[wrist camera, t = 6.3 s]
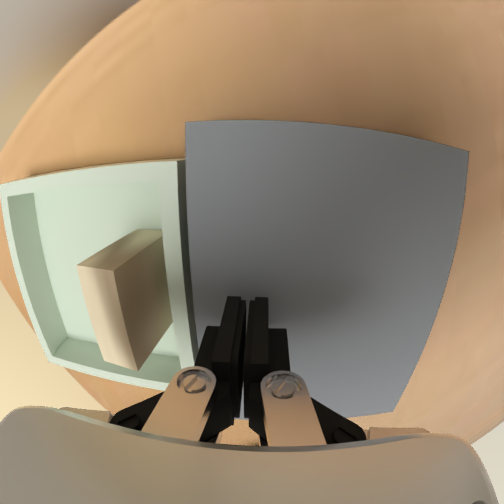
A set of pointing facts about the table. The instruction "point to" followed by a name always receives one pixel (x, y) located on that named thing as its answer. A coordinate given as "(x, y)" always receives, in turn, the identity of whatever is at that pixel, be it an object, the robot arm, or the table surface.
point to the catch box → (90, 242)
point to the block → (128, 297)
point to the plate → (326, 245)
